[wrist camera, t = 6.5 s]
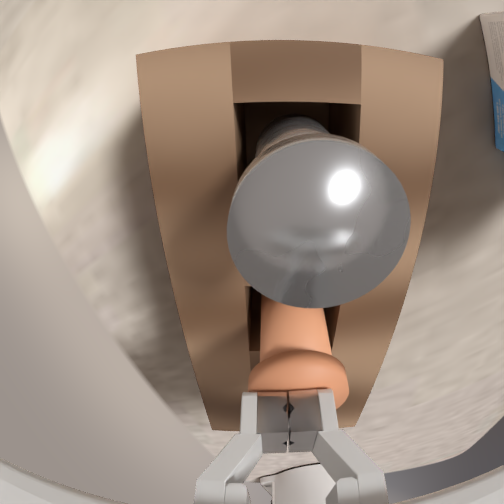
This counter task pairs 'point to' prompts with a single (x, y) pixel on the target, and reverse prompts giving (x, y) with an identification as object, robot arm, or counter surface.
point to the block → (239, 158)
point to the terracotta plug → (296, 353)
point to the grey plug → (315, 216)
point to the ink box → (496, 67)
